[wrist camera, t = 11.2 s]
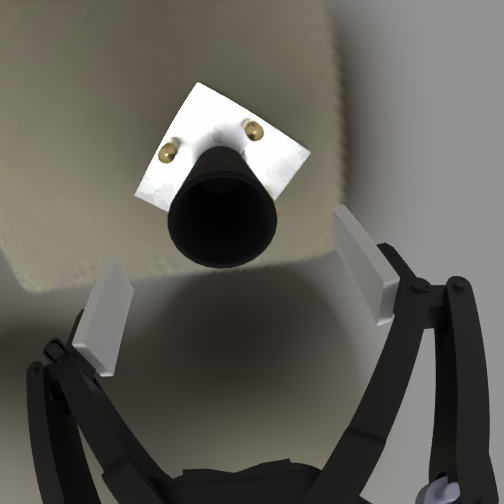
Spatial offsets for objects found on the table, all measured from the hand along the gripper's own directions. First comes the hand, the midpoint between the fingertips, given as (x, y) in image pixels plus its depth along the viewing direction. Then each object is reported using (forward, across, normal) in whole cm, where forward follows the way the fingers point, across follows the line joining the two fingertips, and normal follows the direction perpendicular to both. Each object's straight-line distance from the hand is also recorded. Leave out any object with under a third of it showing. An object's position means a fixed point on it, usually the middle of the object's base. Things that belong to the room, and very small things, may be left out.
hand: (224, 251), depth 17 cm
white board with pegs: (+17, 0, -1) cm, 17 cm away
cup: (+16, 0, -1) cm, 16 cm away
